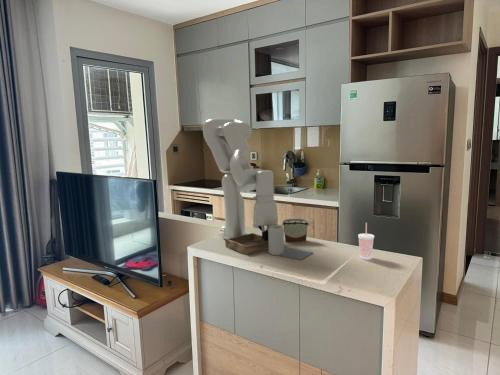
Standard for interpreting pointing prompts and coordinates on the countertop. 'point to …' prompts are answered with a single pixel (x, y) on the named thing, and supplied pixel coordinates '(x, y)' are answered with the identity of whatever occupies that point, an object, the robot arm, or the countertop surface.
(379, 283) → the countertop surface
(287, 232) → the food container
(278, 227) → the beverage can
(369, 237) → the beverage cup
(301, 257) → the charcoal mat
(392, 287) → the countertop surface
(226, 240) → the walnut box
